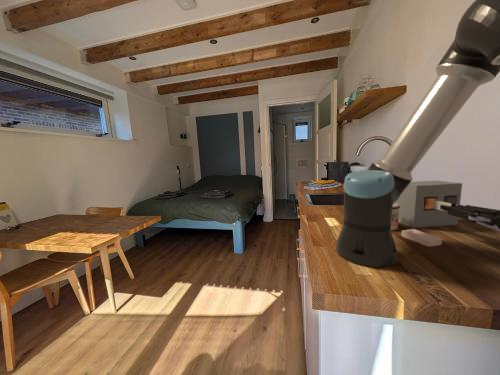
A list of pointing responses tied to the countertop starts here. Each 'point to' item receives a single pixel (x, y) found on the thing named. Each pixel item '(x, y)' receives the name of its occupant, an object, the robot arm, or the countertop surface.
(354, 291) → the countertop surface
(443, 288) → the countertop surface
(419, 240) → the soap bar
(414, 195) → the panel
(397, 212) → the teacup with lid
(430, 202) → the plunger
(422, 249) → the countertop surface
